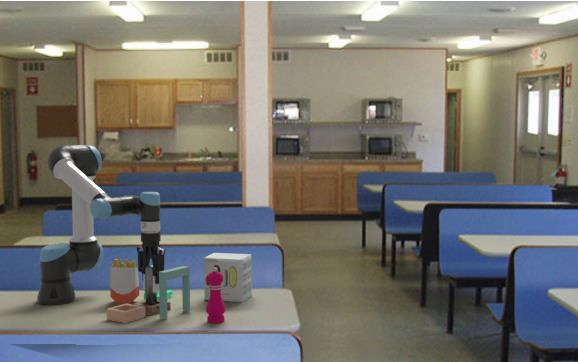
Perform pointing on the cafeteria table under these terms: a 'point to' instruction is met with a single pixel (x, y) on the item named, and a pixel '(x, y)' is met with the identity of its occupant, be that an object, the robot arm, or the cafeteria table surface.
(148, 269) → the metal cylinder
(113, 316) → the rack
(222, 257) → the supplement box
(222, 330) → the cafeteria table surface
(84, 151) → the robot arm
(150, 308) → the socket block
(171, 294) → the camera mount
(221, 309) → the pepper mill
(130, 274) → the french fries container
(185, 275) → the teal green arch
